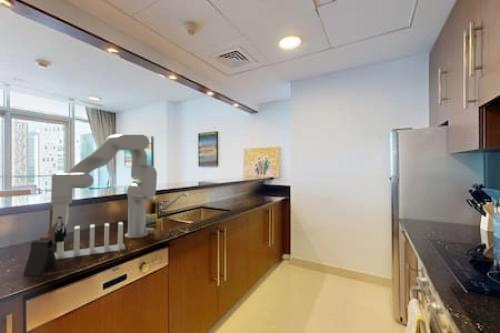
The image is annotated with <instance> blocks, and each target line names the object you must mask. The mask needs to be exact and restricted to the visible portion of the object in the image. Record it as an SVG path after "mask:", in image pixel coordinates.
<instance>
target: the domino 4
mask: <svg viewBox="0 0 500 333" xmlns="http://www.w3.org/2000/svg"><path fill="white" fill-rule="evenodd" d="M103 232H104V234H103V235H104V238H103V243H104V244H103V246H104V251H108V250H109V246H110V223H109V222H107V223H106V222H105V223H104V231H103Z"/></svg>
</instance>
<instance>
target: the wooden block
mask: <svg viewBox="0 0 500 333" xmlns="http://www.w3.org/2000/svg"><path fill="white" fill-rule="evenodd" d="M52 216H53V208H50V209H49V226H48V227H49V229H48V231H47V233H46V234H44V235H42V236H40V237H39V240H52V241H53V245H57V242H55V231H56V225H55V226H54V227H52Z"/></svg>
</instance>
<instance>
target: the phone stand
mask: <svg viewBox="0 0 500 333" xmlns="http://www.w3.org/2000/svg"><path fill="white" fill-rule="evenodd" d="M53 245H54V244H53V241H52V240H40V239H35V240H32V241H31V243H30V252H29V255H28V258H27V261H26V264H25V268H24V271H23V274H22V276H30V277H42V276H44V275H45V274H46V272H45V268H56V267H58V266H59V265H58V261H57V260H58V259H56V257H55V253H56V252H55V251H54V246H53ZM43 274H44V275H43ZM41 275H42V276H41Z"/></svg>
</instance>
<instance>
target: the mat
mask: <svg viewBox="0 0 500 333" xmlns="http://www.w3.org/2000/svg"><path fill="white" fill-rule="evenodd" d="M123 250H126V247H125V244H124V243H123V248H122V249H118V244H111V245H110V244H109V250H108V251H104V245H103V246H97V247H95V246H94V253H89V247H87V248H81V249H80V248H79V254H78V255H73V253H74V249H71V250H64V253H63V255H62V257H58V258H57V252H54V253H55V257H56V260H62V259H67V258H68V259H69V258H75V257H81V256H89V255H95V254H96V255H97V254H102V253H109V252H116V251H123Z"/></svg>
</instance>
